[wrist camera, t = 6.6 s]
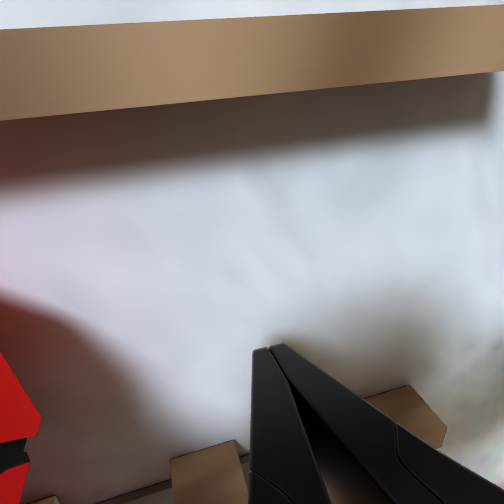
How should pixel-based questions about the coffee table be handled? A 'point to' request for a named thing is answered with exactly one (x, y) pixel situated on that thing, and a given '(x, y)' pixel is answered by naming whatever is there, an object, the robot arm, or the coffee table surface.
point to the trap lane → (239, 85)
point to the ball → (14, 434)
